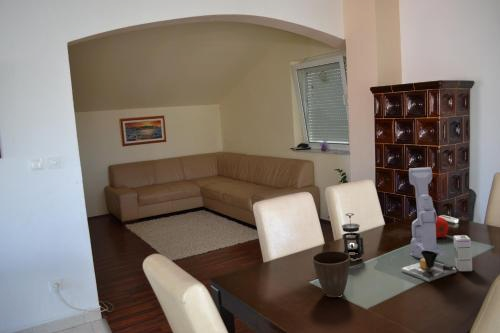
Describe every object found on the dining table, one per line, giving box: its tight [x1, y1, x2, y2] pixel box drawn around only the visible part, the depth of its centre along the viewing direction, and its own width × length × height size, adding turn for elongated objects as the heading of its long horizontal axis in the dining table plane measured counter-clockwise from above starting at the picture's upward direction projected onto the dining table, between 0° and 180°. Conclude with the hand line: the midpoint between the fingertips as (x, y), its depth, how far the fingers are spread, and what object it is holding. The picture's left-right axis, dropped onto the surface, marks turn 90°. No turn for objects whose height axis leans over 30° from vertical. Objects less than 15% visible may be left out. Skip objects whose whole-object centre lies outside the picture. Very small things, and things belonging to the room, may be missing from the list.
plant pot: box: [312, 250, 351, 296], centre depth 168 cm, size 15×15×16 cm
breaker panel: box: [400, 261, 458, 283], centre depth 182 cm, size 15×17×3 cm
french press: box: [341, 212, 365, 259], centre depth 207 cm, size 12×9×23 cm
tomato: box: [435, 215, 450, 239], centre depth 227 cm, size 13×13×13 cm
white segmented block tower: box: [453, 234, 473, 272], centre depth 181 cm, size 6×6×14 cm
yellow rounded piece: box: [419, 258, 428, 269], centre depth 183 cm, size 3×3×4 cm
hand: (430, 267), depth 180 cm, fingers closed
